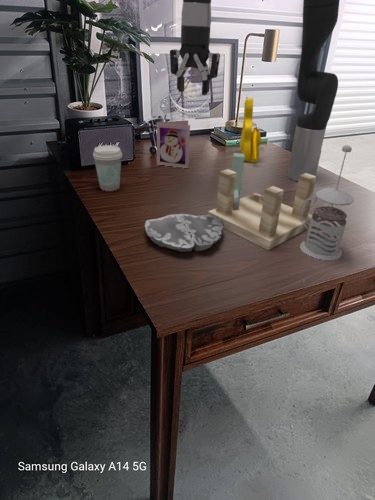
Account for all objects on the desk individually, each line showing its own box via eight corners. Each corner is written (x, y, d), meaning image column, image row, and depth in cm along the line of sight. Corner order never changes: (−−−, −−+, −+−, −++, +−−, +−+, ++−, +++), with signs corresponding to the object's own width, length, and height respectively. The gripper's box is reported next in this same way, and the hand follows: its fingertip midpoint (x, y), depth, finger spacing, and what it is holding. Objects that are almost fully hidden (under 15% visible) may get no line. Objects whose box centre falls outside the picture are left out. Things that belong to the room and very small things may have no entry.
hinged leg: (239, 209, 103) (244, 169, 97) (228, 208, 103) (232, 168, 97) (239, 190, 114) (244, 153, 108) (229, 190, 114) (233, 153, 108)
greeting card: (156, 166, 137) (156, 122, 129) (161, 159, 143) (162, 117, 136) (187, 169, 135) (189, 126, 128) (192, 163, 142) (194, 120, 134)
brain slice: (154, 263, 85) (154, 252, 83) (140, 227, 99) (140, 217, 97) (237, 253, 90) (238, 242, 88) (213, 220, 104) (213, 210, 102)
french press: (336, 265, 87) (368, 156, 74) (286, 249, 92) (308, 144, 79) (346, 247, 94) (377, 144, 81) (300, 233, 99) (321, 134, 86)
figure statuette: (260, 168, 139) (269, 104, 128) (238, 167, 140) (245, 103, 128) (257, 153, 154) (265, 95, 143) (237, 152, 155) (244, 93, 143)
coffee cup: (90, 190, 117) (86, 150, 111) (105, 180, 124) (102, 143, 117) (114, 195, 114) (112, 155, 108) (129, 185, 121) (127, 147, 115)
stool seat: (254, 200, 115) (260, 156, 108) (313, 225, 103) (325, 176, 96) (207, 219, 103) (211, 171, 96) (268, 250, 91) (277, 197, 84)
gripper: (164, 22, 99) (163, 92, 108) (216, 25, 94) (211, 98, 102) (177, 22, 105) (176, 88, 113) (227, 25, 100) (221, 94, 108)
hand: (192, 93), depth 108 cm, fingers open, 6 cm apart
